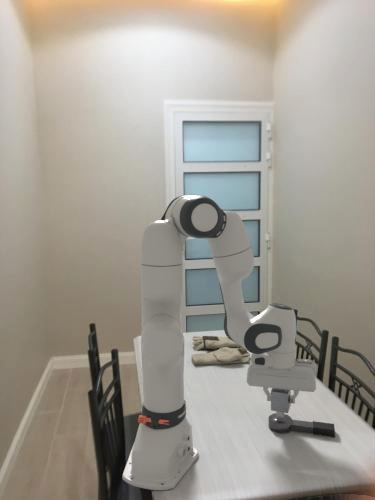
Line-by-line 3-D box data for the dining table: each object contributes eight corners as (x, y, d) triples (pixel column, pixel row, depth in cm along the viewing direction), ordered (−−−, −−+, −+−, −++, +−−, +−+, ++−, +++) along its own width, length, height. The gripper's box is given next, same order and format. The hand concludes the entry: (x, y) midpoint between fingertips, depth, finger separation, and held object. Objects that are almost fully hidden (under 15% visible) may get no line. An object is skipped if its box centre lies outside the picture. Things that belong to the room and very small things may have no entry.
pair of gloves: (192, 342, 199) (191, 332, 198) (244, 341, 198) (244, 331, 198) (191, 367, 169) (190, 355, 168) (252, 366, 168) (252, 354, 168)
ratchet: (335, 440, 115) (335, 422, 114) (267, 431, 120) (267, 413, 120) (333, 427, 122) (333, 409, 121) (269, 419, 127) (269, 402, 126)
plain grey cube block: (287, 413, 119) (287, 394, 118) (270, 410, 121) (270, 391, 120) (290, 405, 123) (290, 386, 123) (274, 402, 125) (274, 384, 125)
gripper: (317, 356, 120) (316, 400, 122) (248, 350, 126) (248, 392, 128) (317, 364, 114) (317, 410, 116) (245, 358, 120) (246, 402, 122)
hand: (280, 401), depth 122 cm, fingers closed on plain grey cube block, 5 cm apart
